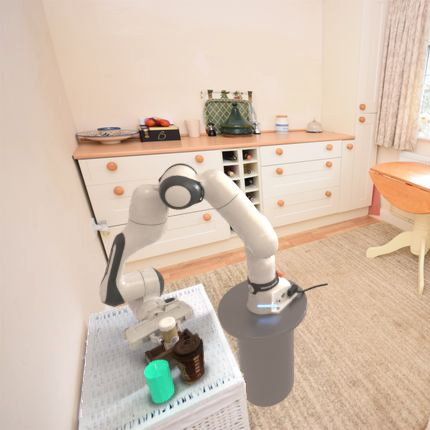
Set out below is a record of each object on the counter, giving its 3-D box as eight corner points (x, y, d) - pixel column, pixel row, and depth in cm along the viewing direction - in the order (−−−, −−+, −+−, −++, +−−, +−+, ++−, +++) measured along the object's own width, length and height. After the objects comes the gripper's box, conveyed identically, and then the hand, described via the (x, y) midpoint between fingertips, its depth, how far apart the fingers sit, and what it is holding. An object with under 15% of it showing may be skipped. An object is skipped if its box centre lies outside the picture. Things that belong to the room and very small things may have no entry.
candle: (147, 395, 84) (138, 366, 79) (167, 379, 88) (160, 351, 84) (158, 407, 81) (149, 378, 76) (178, 391, 85) (171, 362, 81)
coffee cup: (190, 359, 95) (184, 329, 90) (213, 364, 94) (208, 334, 88) (172, 383, 87) (164, 352, 82) (197, 389, 86) (191, 358, 81)
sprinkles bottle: (174, 359, 94) (166, 328, 88) (163, 355, 95) (154, 324, 89) (184, 348, 98) (177, 318, 92) (173, 344, 99) (166, 314, 93)
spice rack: (188, 335, 104) (185, 320, 101) (201, 349, 99) (198, 334, 96) (146, 359, 94) (141, 344, 92) (158, 377, 89) (153, 361, 86)
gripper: (117, 325, 92) (132, 349, 84) (180, 294, 107) (199, 312, 98) (122, 339, 95) (138, 364, 87) (183, 307, 109) (202, 326, 101)
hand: (171, 336), depth 93 cm, fingers closed on sprinkles bottle, 4 cm apart
